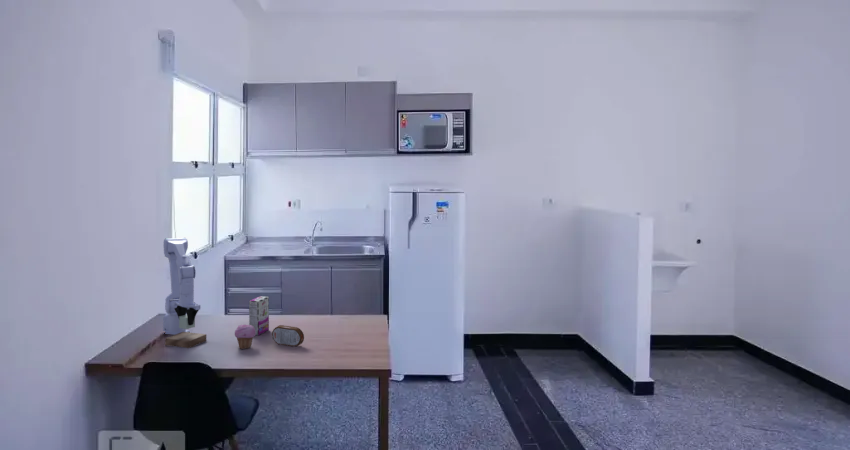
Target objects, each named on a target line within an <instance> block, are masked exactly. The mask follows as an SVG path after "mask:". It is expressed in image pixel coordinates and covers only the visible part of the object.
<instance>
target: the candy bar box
mask: <svg viewBox="0 0 850 450" xmlns="http://www.w3.org/2000/svg"><path fill="white" fill-rule="evenodd" d="M269 301H270V297H269V296H264V295H262V296H261V295H260V296H258V297H255V298H253V299H251V300H249V301H248V307H249V308H248V315H249V317H248V318H249V319H248V320H249V321H248V323H249V324H248V325H251V326H253V327H254V329H255V333H256V334H255V336H261V335H262V334H264V333H266V332H268V331H269V329H270V321H269V320H270V317H269V316H270V311H269V310H270V304H269V303H270V302H269ZM255 336H254V337H255Z"/></svg>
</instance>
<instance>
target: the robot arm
mask: <svg viewBox="0 0 850 450" xmlns="http://www.w3.org/2000/svg"><path fill="white" fill-rule="evenodd" d="M188 246H189V242H188V238H186V237H174V238H173V237H172V238H171V237H170V238H167V237H166V238H164V239H163V255H164V257H166V258H168V262H169V263H168V264H169V274H170V289H171V293H170V294H168V295H167V296H166V297H165V305H164V306H165V307H164V308H165V314H164V316H163V320H162V332H163V331H165V332H166V333H165V334H166V335H172V336H173V335H175V334H178V333H181V332H191V330H189V329H183V328H179V316H183V315H187V317H188V325H193V323H194V319H196V316H197V314H198V312H199V311H201V304H198V303H196V302H195V300H194V299H195V292H194V291H195V290H194V289H195V286H194V285H195V281H194V279H195V278H196V274H197V273H196V266H195V265H194V264H192V263H191V260H190V257H189V256H188V255H186V254H187V251H188V249H189V247H188ZM165 334H164V335H165Z"/></svg>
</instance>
